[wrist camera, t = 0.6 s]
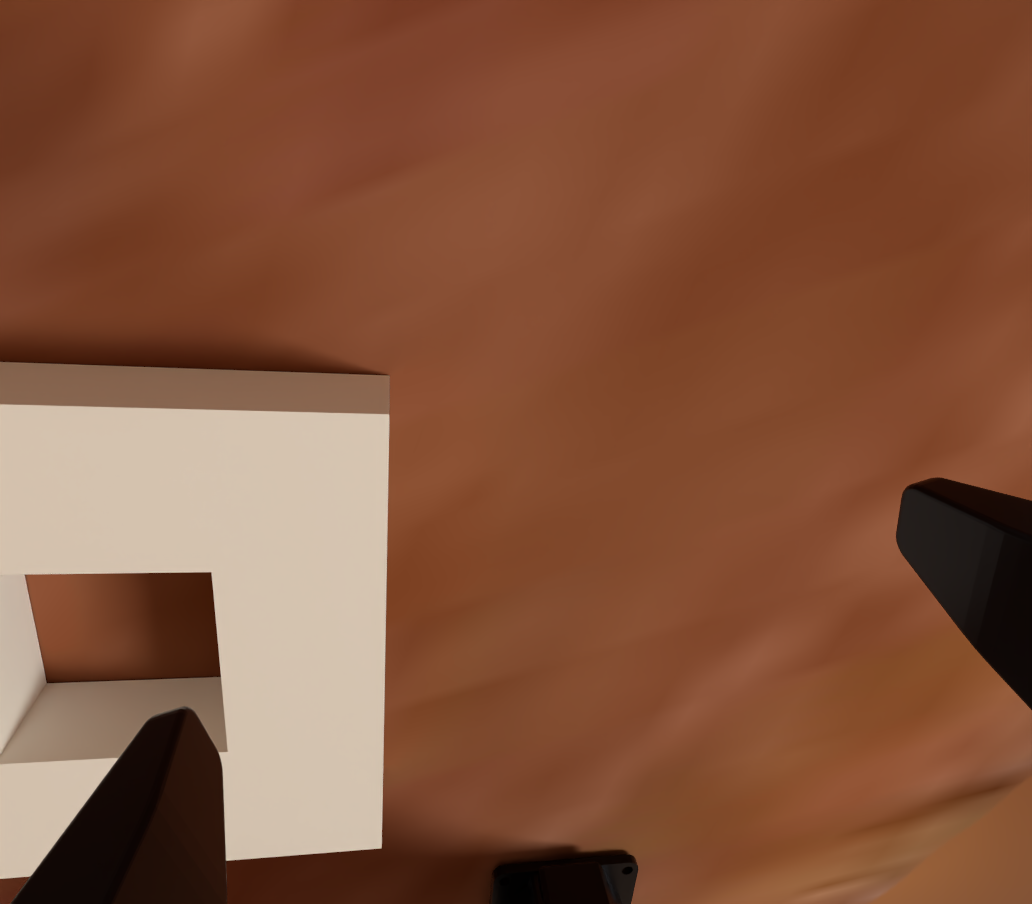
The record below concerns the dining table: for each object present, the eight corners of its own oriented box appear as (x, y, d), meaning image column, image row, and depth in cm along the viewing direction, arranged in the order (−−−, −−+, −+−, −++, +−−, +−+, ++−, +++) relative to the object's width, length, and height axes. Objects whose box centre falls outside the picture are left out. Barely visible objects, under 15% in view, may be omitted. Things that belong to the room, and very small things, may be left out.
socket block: (382, 768, 28) (381, 848, 25) (-80, 796, 25) (-148, 890, 22) (389, 375, 22) (389, 414, 19) (-219, 354, 19) (-341, 395, 16)
